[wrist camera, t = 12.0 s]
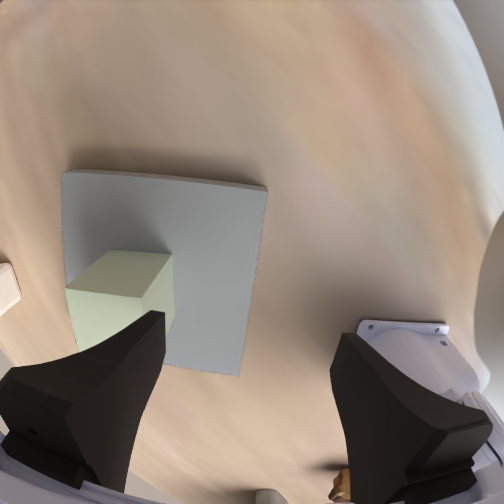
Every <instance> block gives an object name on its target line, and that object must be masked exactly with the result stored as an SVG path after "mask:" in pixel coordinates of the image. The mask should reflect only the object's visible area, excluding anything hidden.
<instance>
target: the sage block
mask: <svg viewBox="0 0 504 504" xmlns="http://www.w3.org/2000/svg"><path fill="white" fill-rule="evenodd" d="M64 290H65V295H66V300H67V305H68V309H69V314H70V318H71V322H72V326H73V330H74V334H75V338H76V341H77V345H78V349H79V352H81V351H84V350H86V349H88V348H90V347H93V346H95V345H97V344H99V343H101V342H102V341H104V340H106V339H108V338H109V337H111V336H113V335H114V334H116V333H118V332H119V331H121V330H122V329H124V328H125V327H127V326H128V325H130V324H131V323H133V322H134V321H136V320H137V319H138V318H140V317H141V316H143V315H144V314H146V313H147V312H148V311H150V310H155V311H161V312H165V329H166V335H167V332H168V330H169V328H170V325H171V323H172V321H173V318H174V316H175V305H174V285H173V257H172V254H164V253H149V252H135V251H121V250H109V251H108V252H106V253H105V254H104V255H103V256H101V257H100V258H99V259H98V260H97V261H95V262H94V263H93V264H92V265H91V266H89V267H88V268H87V269H86V270H85V271H83V272H82V273H81V274H80V275H79V276H78V277H76V278H75V279H74V280H73V281H72V282H71V283H69V284H68V285H67V286H66V287H65V288H64Z"/></svg>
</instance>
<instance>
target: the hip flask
mask: <svg viewBox="0 0 504 504" xmlns="http://www.w3.org/2000/svg"><path fill="white" fill-rule="evenodd" d="M256 504H288V502H287V501H286V500H285V498H284V497H283V496H282V495H281V494H280V493H279V492H277V491H276V490H273V489H262V490H259V491H257V492H256Z"/></svg>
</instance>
